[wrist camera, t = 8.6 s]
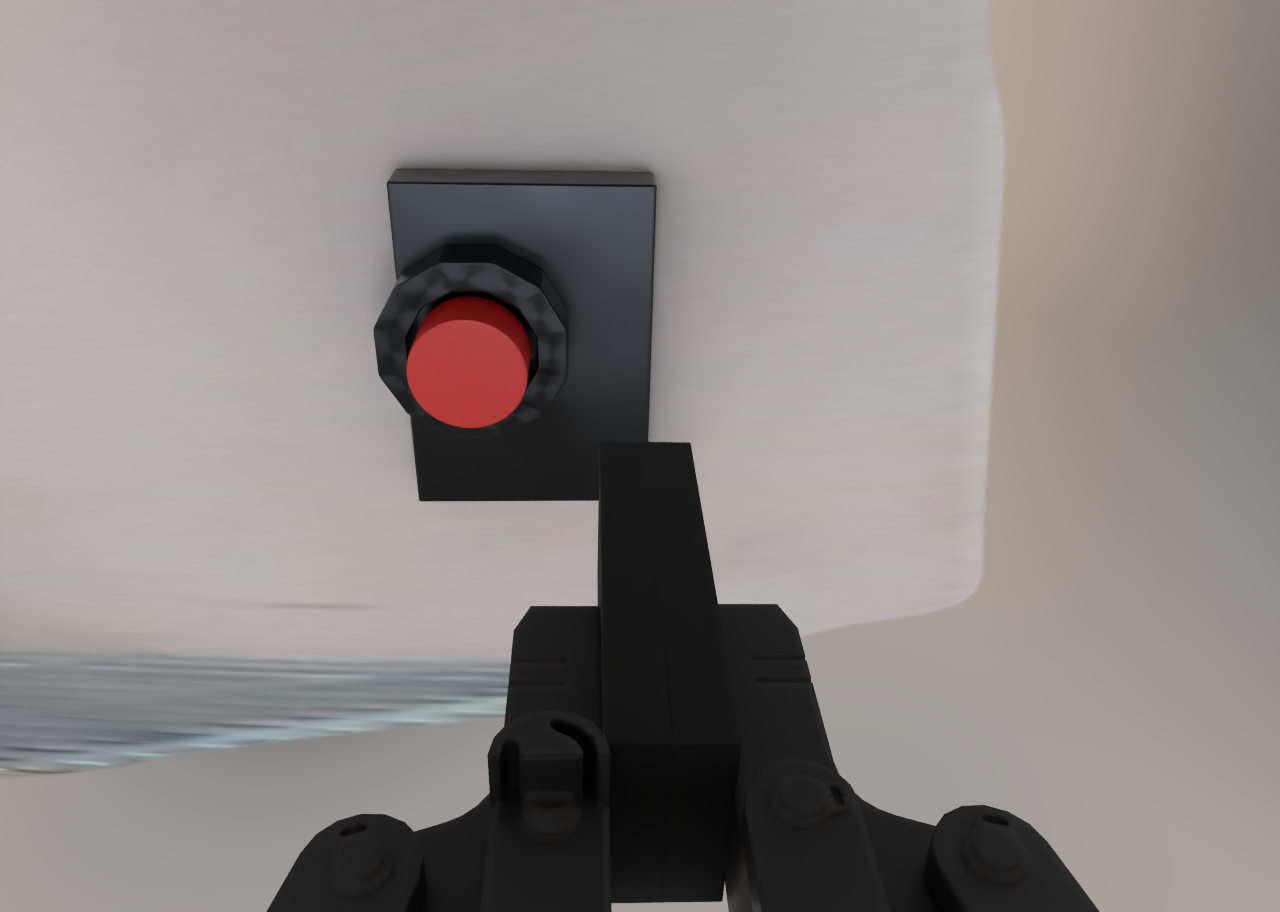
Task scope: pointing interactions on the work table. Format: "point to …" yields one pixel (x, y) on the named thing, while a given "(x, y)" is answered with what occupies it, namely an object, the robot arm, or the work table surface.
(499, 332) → the button
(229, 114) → the work table surface
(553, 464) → the switch box
